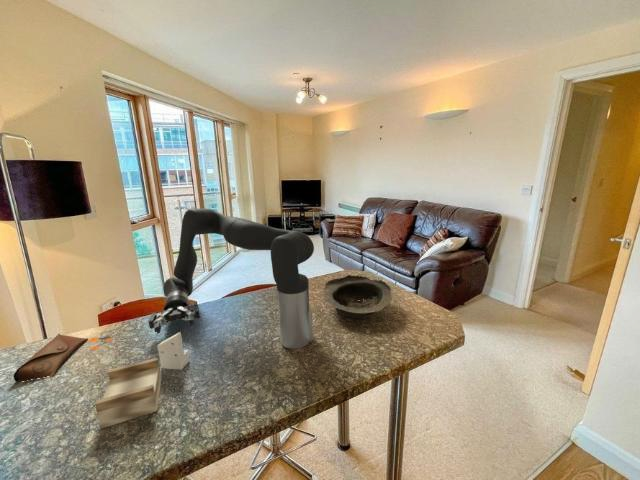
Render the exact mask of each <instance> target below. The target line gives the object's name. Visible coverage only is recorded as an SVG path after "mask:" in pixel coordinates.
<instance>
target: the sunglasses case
mask: <svg viewBox="0 0 640 480" xmlns="http://www.w3.org/2000/svg"><path fill="white" fill-rule="evenodd" d="M88 340H89V338H83V337H78V336H71V335H66V334H61V333H58V334H57V335H56V336H55V337H54V338H53V339H51V340H50V341H49V342H48V343H46V344H45V345H44V346H43V347H41V348H40V349H39V350H38V351H36V352H35V354H33V355H32V356H31V357H30V358H29V359H28V360H27V361H26V362H24V364H23V363H22V364H21V365H20V366H19V367H18V368H17V369H16V371H15V372H14V374H13V379H14V381H15V382H16V383H19V384H21V383H20V382H22V381H27V380H31V379H37V378H43V377H47V376H52V377H54V376H55V375H56V374H57V373H58V371H59V370H60V368H61V367H62V366H63V365H64V364H65V363H66V362H67V360H68V359H69V358H70V357H71V356H72V355H73V354H75V352H76V351H77V350H79V348H81V347H82V346H83V345H84V344H85V343H86V342H87V341H88ZM58 369H59V370H58ZM55 373H56V374H55ZM53 375H54V376H53ZM43 379H44V378H43ZM37 380H38V379H37ZM27 382H28V381H27ZM22 383H23V382H22Z"/></svg>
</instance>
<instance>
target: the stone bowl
mask: <svg viewBox="0 0 640 480" xmlns="http://www.w3.org/2000/svg"><path fill="white" fill-rule="evenodd" d="M391 291H392V289H391V286H390V285H388V284H387V283H386V281H383V280H382V279H379V280H378V279H377V280H376V279H371V278H369V277H367V276H362V275H360V276H359V275H351V274H348V275H345V276H344V277H340V278H333V279H331V280H328V281H327V282H326V283H325V286H324V291H322V294H323V296H324V299H325V301H326V303H328V304H329V305H330V306H331V307H332V308H334V309H335V311H336V312H337V313H339V314H340V315H342V316H343V317H344V318H347V319H356V320H362V319H365V318H369V317H370V316H373V315H375V314H376V313H377V312H380V311H381V310H383V309H384V308H385V307H386V306H388V305H390V304H391V301H392V298H393V297H392V292H391ZM361 299H364V300H361ZM358 300H360V301H358Z"/></svg>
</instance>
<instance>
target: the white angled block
mask: <svg viewBox="0 0 640 480" xmlns="http://www.w3.org/2000/svg"><path fill="white" fill-rule="evenodd" d="M157 352H158V358H159V362H160V363H159V364H160V369H168V370H170V369H171V370H183V369H184V367H186V365H187V364H188V362H190V356H189V355H190V354H189V350H187V349H184V346H183V339H182V334H181V331H179V332H177V333H176V334H174V335H172V336H171V337H167V338H166V339H165V340H163V341H161V342H160V343H159V344H158V345H157Z"/></svg>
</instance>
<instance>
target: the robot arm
mask: <svg viewBox="0 0 640 480" xmlns="http://www.w3.org/2000/svg"><path fill="white" fill-rule="evenodd" d="M208 234H209V235H210V234H211V235H213V234H217V235H220V236H223V238H224V240H225V241H226V242H227V243H228V244H230V245H232V246H234V247H238V248H240V249H244V250H249V251H270V260H271V262H270V263H271V269H272V277H273V280H274V283H275V285H276V293H277V294H276V296H277V311H278V326H279V341H280V344H281V346H283V347H284V348H287V349H289V350H295V349H301V348H305V347H306V346H307V345H308V344H310V343H311V342H313V341H314V334H313V333H314V332H313V331H314V330H313V312H312V311H311V310H310V291H309V289H310V288H309V287H310V286H309V278H308V276H306V275H305V274H303V273H300V272H299V265H300V264H302V263H305V262H306V261H307V260H309V259H310V258H311V257H312V256H313V254H314V251H315V246H314V243H313V240H312V239H311V237H310V236H308V235H307V234H306V233H304V232H302V231H298V230H289V229H284V228H276V227H273V226H270V225H267V224H262V223H260V222H259V223H258V222H255V221H252V220H249V219H245V218H241V217H237V216H229V215H226V214H223V213H222V212H218V211H216V210H214V209H210V208H190V209H187V210H186V211H185V212H184V214H183V217H182V221H181V230H180V238H179V240H180V241H179V251H178V256H177V260H176V263H175V266H174V268H173V276H174V277H170V278H167V279H166V280H165V281H164V284H163V288H162V289H163V293H164V296H165V297H166V298H165V302H164V304H163V311H162V312H161V313H156V312H152V313H151V315H150V316H149V319H148V326H149V329H154V332H155V333H157V334H160V333H161V330H162V327H164V326H167V325H168V324H169V323H171V322H175V321H180V320H183V321H187V322H188V327H192V325H194V324H195V319H197V320H198V319H201V314H200V308H199V307H200V306H199V304H194V306H192V307H190V300H189V296H191V295H192V293H193V291H194V281H193V279H194V273H195V270H196V267H197V265H198V264H197V263H198V255H197V252H196V250H195V247H194V240H195V237H197V235H208Z"/></svg>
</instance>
